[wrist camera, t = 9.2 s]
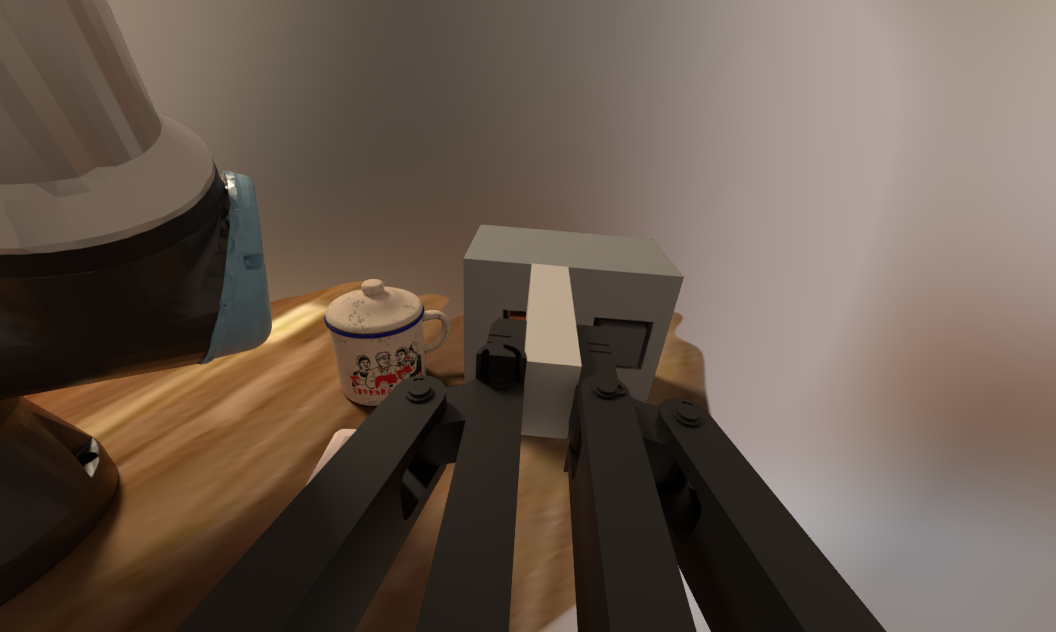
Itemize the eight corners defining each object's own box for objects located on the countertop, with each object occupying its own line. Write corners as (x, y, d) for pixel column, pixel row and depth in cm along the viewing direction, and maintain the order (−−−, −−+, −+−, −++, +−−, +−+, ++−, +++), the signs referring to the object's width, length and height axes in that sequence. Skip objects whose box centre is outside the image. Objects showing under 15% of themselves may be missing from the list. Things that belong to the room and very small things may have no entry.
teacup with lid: (347, 421, 36) (325, 313, 30) (332, 368, 43) (312, 271, 37) (466, 384, 42) (465, 288, 36) (436, 343, 49) (432, 256, 43)
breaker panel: (463, 410, 39) (462, 260, 31) (478, 351, 48) (481, 224, 40) (642, 424, 39) (685, 278, 31) (623, 363, 48) (653, 239, 40)
